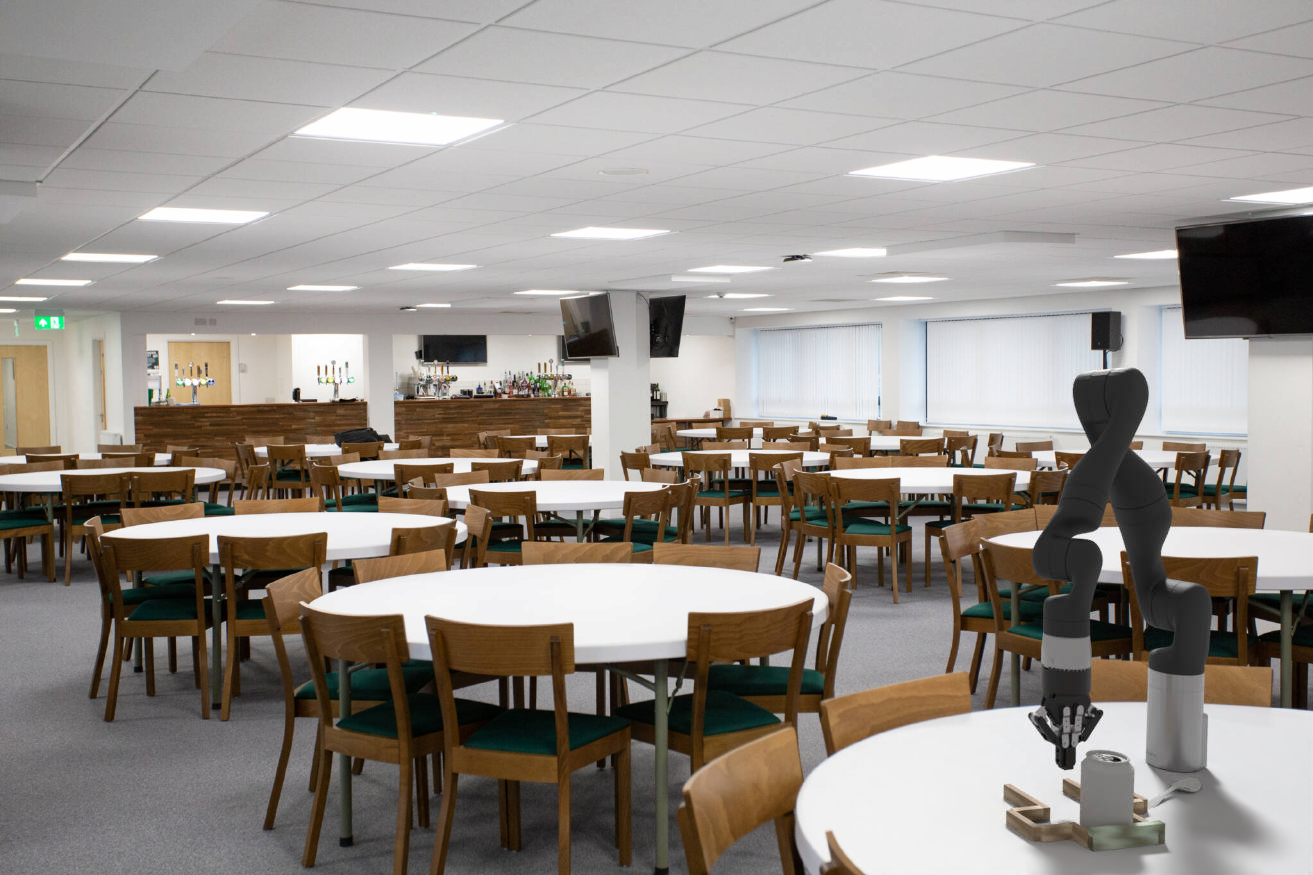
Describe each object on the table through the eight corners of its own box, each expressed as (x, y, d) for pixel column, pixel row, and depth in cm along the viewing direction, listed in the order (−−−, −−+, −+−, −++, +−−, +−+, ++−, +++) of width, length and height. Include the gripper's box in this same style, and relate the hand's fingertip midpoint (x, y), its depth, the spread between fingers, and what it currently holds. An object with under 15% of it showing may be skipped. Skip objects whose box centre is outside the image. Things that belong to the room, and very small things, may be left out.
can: (1138, 844, 165) (1141, 764, 165) (1085, 840, 166) (1087, 761, 166) (1124, 825, 172) (1126, 748, 172) (1074, 821, 173) (1076, 745, 173)
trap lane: (1100, 786, 189) (1100, 769, 189) (1199, 839, 167) (1200, 819, 167) (970, 799, 183) (970, 781, 183) (1055, 855, 161) (1056, 835, 160)
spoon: (1207, 790, 189) (1207, 780, 189) (1146, 818, 176) (1147, 808, 176) (1183, 783, 193) (1183, 774, 193) (1121, 810, 180) (1122, 800, 180)
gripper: (1086, 653, 184) (1085, 756, 185) (1016, 659, 180) (1015, 765, 181) (1117, 663, 177) (1116, 771, 178) (1044, 670, 173) (1043, 780, 174)
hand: (1065, 768), depth 179 cm, fingers closed
